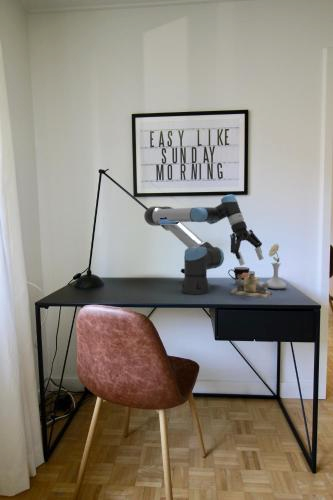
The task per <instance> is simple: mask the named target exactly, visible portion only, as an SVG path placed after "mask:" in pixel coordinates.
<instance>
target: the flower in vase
mask: <svg viewBox="0 0 333 500" xmlns="http://www.w3.org/2000/svg"><path fill="white" fill-rule="evenodd" d="M279 248H280V245H279V244H278V243H274V244H273V245H272V246H271V247H270V249H269V251H268V256H269V257H273V260H274V261H275V262H272V263H271V265H272V269H273V276H271V278H269V279H268V280H267V281H266V282H268V289H275V290H281V289H285V288H286V287H287V284H286V283H285V282H284V280H282V279H281V278H280V277H279V268H280V266H281V263H280V257H279V254H278V251H279ZM275 255H276V256H277V257H275Z"/></svg>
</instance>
